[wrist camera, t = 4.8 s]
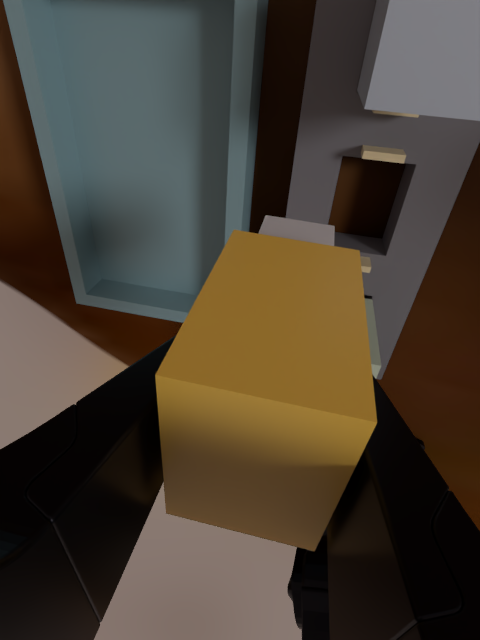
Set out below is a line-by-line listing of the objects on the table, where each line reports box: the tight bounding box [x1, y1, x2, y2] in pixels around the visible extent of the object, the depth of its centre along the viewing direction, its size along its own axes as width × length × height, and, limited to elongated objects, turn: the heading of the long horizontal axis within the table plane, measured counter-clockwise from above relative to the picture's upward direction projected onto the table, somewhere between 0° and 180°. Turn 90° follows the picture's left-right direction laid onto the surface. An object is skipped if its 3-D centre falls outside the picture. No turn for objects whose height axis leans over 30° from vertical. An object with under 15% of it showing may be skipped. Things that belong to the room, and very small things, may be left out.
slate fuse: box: [357, 0, 480, 121], centre depth 12 cm, size 4×3×7 cm
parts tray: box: [3, 0, 268, 323], centre depth 19 cm, size 16×10×2 cm, turn 177°
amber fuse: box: [155, 215, 377, 551], centre depth 9 cm, size 4×3×7 cm
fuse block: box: [286, 0, 480, 379], centre depth 17 cm, size 20×7×3 cm, turn 177°
